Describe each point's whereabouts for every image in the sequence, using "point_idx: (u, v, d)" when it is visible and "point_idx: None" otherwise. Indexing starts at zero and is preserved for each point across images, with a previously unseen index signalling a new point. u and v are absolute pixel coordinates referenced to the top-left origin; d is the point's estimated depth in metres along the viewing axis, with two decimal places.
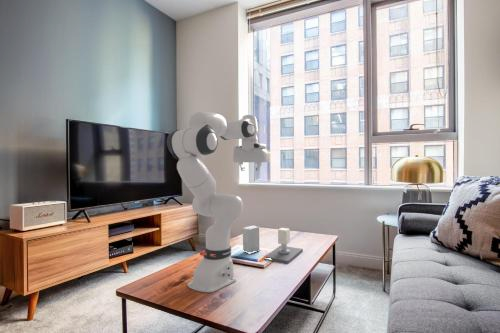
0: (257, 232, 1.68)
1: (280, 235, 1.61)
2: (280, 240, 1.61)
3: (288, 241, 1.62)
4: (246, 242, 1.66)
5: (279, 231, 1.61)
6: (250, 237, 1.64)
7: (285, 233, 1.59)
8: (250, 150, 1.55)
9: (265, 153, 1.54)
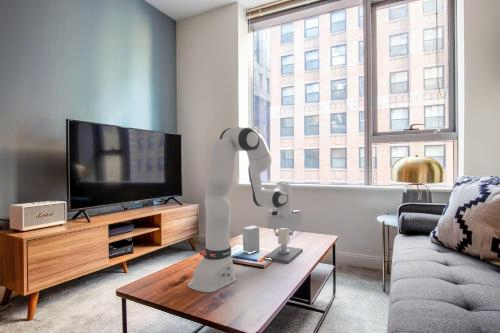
0: (257, 232, 1.68)
1: (280, 235, 1.61)
2: (280, 240, 1.61)
3: (288, 241, 1.62)
4: (246, 242, 1.66)
5: (279, 231, 1.61)
6: (250, 237, 1.64)
7: (285, 233, 1.59)
8: None
9: (266, 219, 1.61)
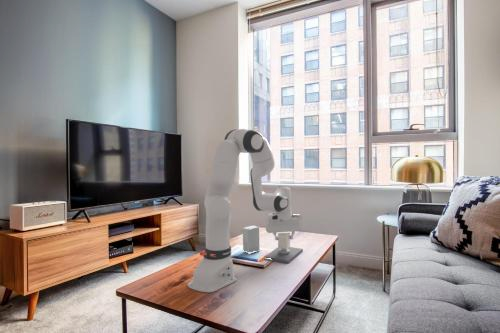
0: (257, 232, 1.68)
1: (280, 239, 1.61)
2: (280, 244, 1.61)
3: (288, 245, 1.62)
4: (246, 242, 1.66)
5: (279, 235, 1.61)
6: (250, 237, 1.64)
7: (285, 237, 1.59)
8: None
9: (266, 223, 1.61)
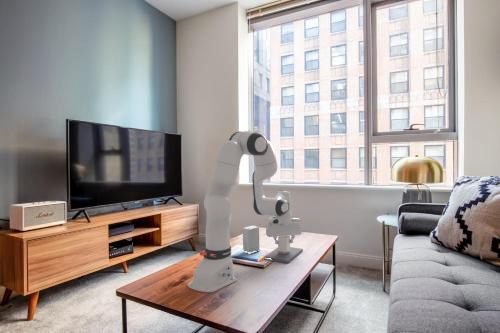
0: (257, 232, 1.68)
1: (280, 243, 1.61)
2: (280, 248, 1.61)
3: (288, 249, 1.62)
4: (246, 242, 1.66)
5: (279, 238, 1.61)
6: (250, 237, 1.64)
7: (285, 241, 1.59)
8: None
9: (267, 227, 1.60)
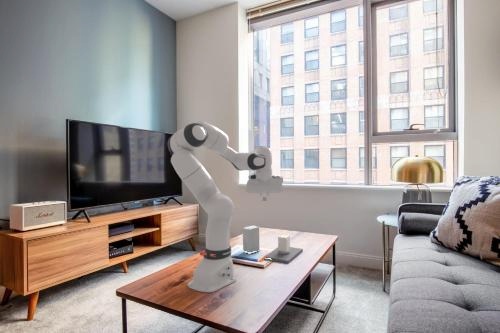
0: (257, 232, 1.68)
1: (280, 242, 1.61)
2: (280, 247, 1.61)
3: (288, 248, 1.62)
4: (246, 242, 1.66)
5: (279, 238, 1.61)
6: (250, 237, 1.64)
7: (285, 240, 1.59)
8: None
9: None
